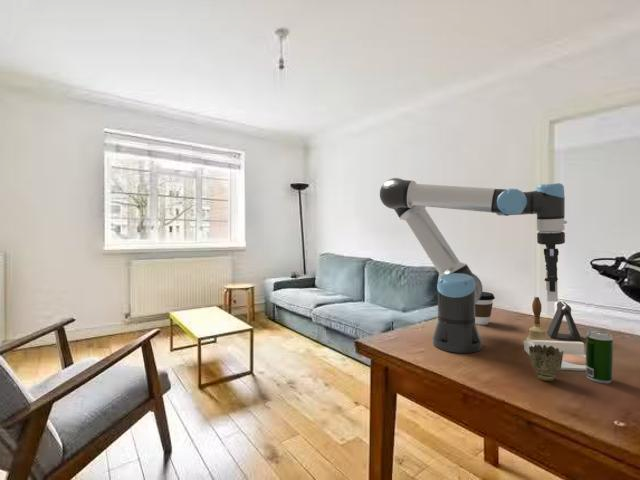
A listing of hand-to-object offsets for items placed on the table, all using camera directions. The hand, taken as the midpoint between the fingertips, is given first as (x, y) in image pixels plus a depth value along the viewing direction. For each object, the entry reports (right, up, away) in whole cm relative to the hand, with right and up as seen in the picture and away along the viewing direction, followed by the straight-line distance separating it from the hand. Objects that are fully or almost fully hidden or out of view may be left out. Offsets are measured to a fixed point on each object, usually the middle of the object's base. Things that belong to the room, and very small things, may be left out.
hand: (551, 295), depth 114 cm
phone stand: (+9, -16, +7) cm, 20 cm away
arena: (-5, -17, -13) cm, 22 cm away
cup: (-18, -18, -25) cm, 36 cm away
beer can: (-5, -18, -26) cm, 32 cm away
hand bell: (-5, -17, 0) cm, 17 cm away
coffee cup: (-11, -16, +27) cm, 33 cm away
